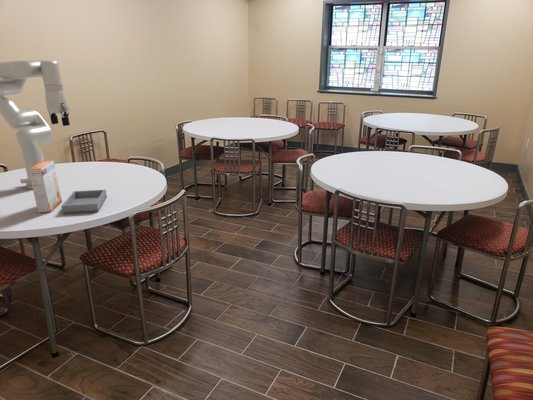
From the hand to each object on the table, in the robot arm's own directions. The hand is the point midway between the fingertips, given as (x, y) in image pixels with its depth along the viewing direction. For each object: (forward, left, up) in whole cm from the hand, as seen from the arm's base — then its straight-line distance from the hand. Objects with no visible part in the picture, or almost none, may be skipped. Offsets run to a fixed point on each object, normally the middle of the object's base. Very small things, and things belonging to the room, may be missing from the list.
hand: (60, 124), depth 197 cm
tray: (+11, -20, -35) cm, 42 cm away
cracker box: (-5, -20, -35) cm, 41 cm away
